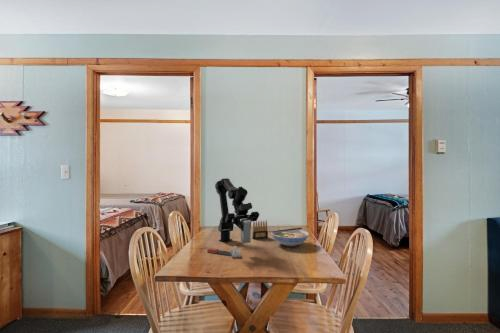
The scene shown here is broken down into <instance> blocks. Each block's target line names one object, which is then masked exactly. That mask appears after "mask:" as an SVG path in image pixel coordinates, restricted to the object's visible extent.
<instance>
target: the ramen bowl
mask: <svg viewBox="0 0 500 333" xmlns="http://www.w3.org/2000/svg"><path fill="white" fill-rule="evenodd" d="M269 233H271V236H272V237H273V238H274V240H275V241H276V242H277V243H279V244H281V245H283V246H285V247H290V248H291V247H296V246H298V245H301V244H303V243H304V242H306V240H307V239H308V238H309V235H310V234H309V232H308V231H304V230H303V227H295V228H287V229H286V228H280V229H276V230H272V231H271V230H270V231H269Z"/></svg>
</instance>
